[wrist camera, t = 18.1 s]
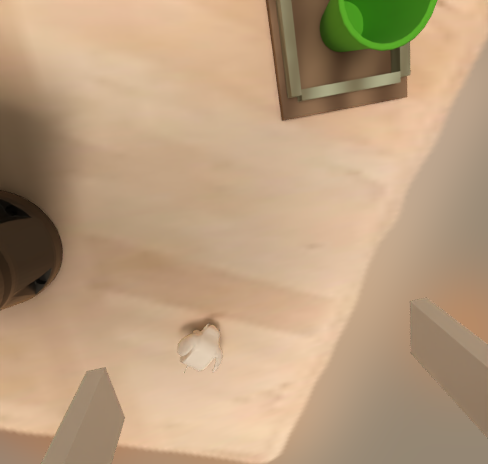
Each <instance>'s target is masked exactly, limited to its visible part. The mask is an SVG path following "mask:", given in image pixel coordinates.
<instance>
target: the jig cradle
mask: <svg viewBox="0 0 488 464" xmlns="http://www.w3.org/2000/svg"><path fill="white" fill-rule="evenodd" d="M329 1H330V0H266V3H267V11H268V18H269V26H270V34H271V41H272V49H273V56H274V64H275V71H276V79H277V86H278V94H279V102H280V109H281V117H282V120H287V119H293V118H298V117H303V116H309V115H314V114H319V113H325V112H330V111H335V110H341V109H346V108H351V107H357V106H362V105H367V104H372V103H378V102H383V101H388V100H394V99H399V98H404V97H407V76H408V75H410V42H408V43H407V44H405V45H404V46H401V47H399V48H396V49H393V50H386V51H378V50H373V49H363V50H355V51H347V52H335V51H333V50H331V49H329V48H328V47H327V46H326V45H325V43H324V42H323V40H322V38H321V34H320V21H321V18H322V15H323V13H324V11H325V9H326V7H327V5H328V3H329Z"/></svg>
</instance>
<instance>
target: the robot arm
mask: <svg viewBox="0 0 488 464" xmlns="http://www.w3.org/2000/svg"><path fill="white" fill-rule="evenodd" d="M61 261H62V245H61V241H60V237H59V235H58V232H57V230H56V228H55V226H54V225H53V223H52V222H51V220H50V219H49V218H48V217H47V216H46V214H45V213H44V212H43V211H42V210H40V209H39V208H38V207H37V206H36V205H34V204H33V203H31V202H30V201H28V200H26V199H24V198H22V197H20V196H18V195H15V194H13V193H9V192H6V191H1V190H0V310H2V309H5V308H8V307H11V306H14V305H17V304H20V303H23V302H25V301H27V300H29V299H31V298H33V297H35V296H36V295H38V294H39V293H40V292H41V291H42V290H43V289H45V288H46V287H47V286H48V285H49V284H50V283H51V282H52V280H53V279H54V278H55V276H56V275H57V273H58V271H59V268H60V265H61ZM410 339H411V340H410V342H411V343H410V344H411V354H412V355H413V356H414V358H415V359H416V360H417V361H418V362H419V363H420V364H421V365H422V366H423V368H424V369H425V370H427V372H428V373H429V374H430V375H431V376H432V377H433V379H434V380H435V381H436V382H437V383H438V384H439V385H440V386H441V387H442V388H443V390H444V391H445V392H446V393H447V394H448V395H449V396H450V397H451V398H452V400H453V401H454V402H455V403H456V404H457V405H458V406H459V407H460V408H461V409H462V411H463V412H464V413H465V414H466V415H467V416H468V417H469V418H470V419H471V421H472V422H473V423H474V424H475V425H476V426H477V427H478V428H479V429H480V430H481V432H482V433H483V434H484V435H485V436H486V437H487V438H488V344H486V343H485V342H484V341H483V340H481V339H480V338H479V337H478V336H476V335H475V334H474V333H472V332H471V331H470V330H468V329H467V328H466V327H465V326H463V325H462V324H461V323H459V322H458V321H457V320H455V319H454V318H453V317H452V316H450V315H449V314H448V313H446V312H445V311H444V310H443V309H441V308H440V307H439V306H437V305H436V304H435V303H433V302H432V301H431V300H430V299H428V298H427V297H426V298H422V299H417V300H412V301H410ZM124 419H125V417H124V414H123V412H122V409H121V406H120V404H119V401H118V399H117V396H116V393H115V391H114V388H113V386H112V383H111V380H110V378H109V375H108V373H107V370H106V367H105V368H100V369H95V370H91V371H87V372H86V374H85V376H84V378H83V380H82V382H81V384H80V386H79V388H78V390H77V392H76V394H75V396H74V398H73V400H72V402H71V404H70V406H69V408H68V410H67V412H66V414H65V416H64V418H63V420H62V422H61V424H60V426H59V428H58V430H57V432H56V434H55V436H54V438H53V440H52V442H51V444H50V446H49V448H48V450H47V452H46V454H45V456H44V458H43V461H42V462H41V464H112V460H113V457H114V453H115V450H116V447H117V443H118V440H119V436H120V433H121V429H122V426H123V422H124Z"/></svg>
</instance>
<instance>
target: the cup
mask: <svg viewBox="0 0 488 464" xmlns="http://www.w3.org/2000/svg"><path fill="white" fill-rule="evenodd" d="M436 2H437V0H330V1H329V3H328V5H327V7H326V9H325V11H324V13H323V15H322V18H321V21H320V34H321V38H322V40H323V42H324V43H325V45H326V46H327V47H328V48H329V49H331V50H333V51H335V52H347V51H355V50H363V49H373V50H378V51H386V50H393V49H396V48H399V47H401V46H404V45H405V44H407V43H408V42H410V41H411V40H413V39H414V38H415V37H416V36H417V35H418V34H419V33H420V32H421V31H422V30H423V28H424V27H425V25H426V24H427V22H428V20H429V19H430V17H431V15H432V13H433V11H434V8H435V5H436Z"/></svg>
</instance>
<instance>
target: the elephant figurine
mask: <svg viewBox="0 0 488 464" xmlns="http://www.w3.org/2000/svg"><path fill="white" fill-rule="evenodd" d="M209 324H210V323H209ZM209 324H207V325H206V326H205V327H204V328H203V330H202V331H199V330H194V331H193V333H192V334H190V335H188V336H186V337H184V338H183V339H182V340H181V341H180V342H179V343H178V347H177V351H178V354H179V355H180V356H181V358H180V360H181V362H182V363H183V364H185V365H187V367H186V369H187V368H188V367H191V368H193V369H195V370H197V371H202V370H204V369H205V368H206V367H207V366H208V365H209V364H210V363H211V361H212V360H213V359H214V358H215V361H216V362H215V366H214V369H213V370H212V372H215V371H216V370H217V369H218V367H219V365H220V363H221V361H222V358H223V352H222V349H221V348H220V347H219V337H220V329H219V332H218V330H217V329H216V327H215V326H214V325H210V326H208V325H209ZM185 371H186V370H185ZM185 371H184V373H185Z"/></svg>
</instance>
